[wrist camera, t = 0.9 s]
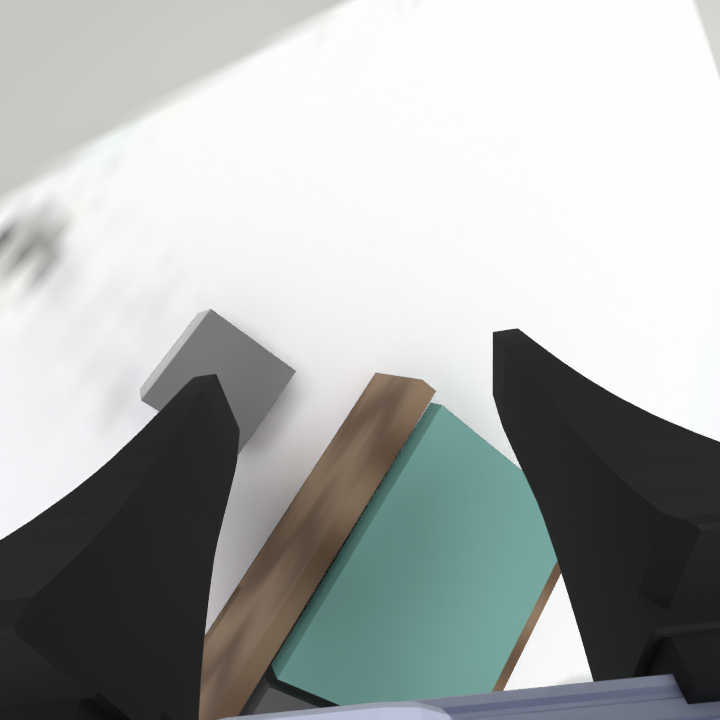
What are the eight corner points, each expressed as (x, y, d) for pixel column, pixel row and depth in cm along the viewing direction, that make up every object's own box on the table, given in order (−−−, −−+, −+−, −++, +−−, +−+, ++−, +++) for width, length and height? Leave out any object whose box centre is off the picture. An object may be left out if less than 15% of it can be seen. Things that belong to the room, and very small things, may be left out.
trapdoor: (399, 780, 27) (425, 824, 24) (218, 715, 22) (228, 760, 20) (544, 503, 30) (578, 517, 28) (414, 399, 26) (442, 405, 23)
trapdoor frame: (379, 771, 29) (423, 850, 25) (167, 694, 24) (175, 778, 19) (527, 492, 34) (588, 517, 29) (375, 372, 28) (422, 379, 24)
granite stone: (219, 437, 25) (235, 457, 20) (140, 388, 23) (141, 400, 19) (270, 365, 25) (295, 371, 21) (197, 313, 24) (210, 308, 20)
